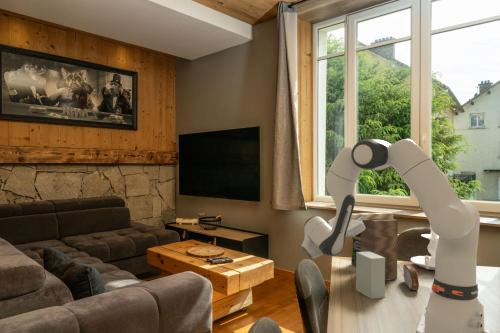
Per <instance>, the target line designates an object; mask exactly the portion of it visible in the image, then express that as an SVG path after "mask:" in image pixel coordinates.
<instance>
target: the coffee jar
mask: <svg viewBox="0 0 500 333" xmlns="http://www.w3.org/2000/svg"><path fill="white" fill-rule="evenodd" d="M351 239H352V251H351V265H352V266H354V267H356V252H360V246H361V233H359V234H357V235H356V236H353V237H351Z"/></svg>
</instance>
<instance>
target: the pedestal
mask: <svg viewBox="0 0 500 333" xmlns="http://www.w3.org/2000/svg"><path fill="white" fill-rule="evenodd" d="M355 268H356V269H355V275H356V276H355V278H356V279H355V290H356V291H357V292H359V293H361V294H363V295H364V296H366V297H367V298H368V299H370V300H372V299H381V298H385V297H386V296H385V294H386V284H385V283H386V280H385V258H384V257H382V256H379V255H377V254H375V253H372V252H370V251H368V252H356V266H355Z"/></svg>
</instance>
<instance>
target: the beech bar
mask: <svg viewBox="0 0 500 333" xmlns="http://www.w3.org/2000/svg"><path fill="white" fill-rule="evenodd" d="M361 215H363V216H364V217H365V219H364V220H382V219H394V213H392V212H387V211H385V212H384V211H383V212H382V211H381V212H359V213H357V212H356V213H355V212H354V213H353V212H352V216H351V219H354V220H356V219H358V218H359V216H361Z"/></svg>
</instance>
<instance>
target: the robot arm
mask: <svg viewBox="0 0 500 333" xmlns="http://www.w3.org/2000/svg"><path fill="white" fill-rule="evenodd" d="M434 161H435V160H433V159H432V157H431V156H429V155H428V154H427V152H426V151H425V150H424V149H423V148H422V147H421V146H419V145H418V143H416V142H415V141H414V140H412V139H410V138H404V139H403V138H402V139H400V140H398V141H395V142H394V143H392V142H390V141H387V140H382V139H377V138H376V139H375V138H372V139H371V138H367V139H362V140H360V141H358V142H357V143H355V144H354V146H345V147H343V148H342V149H340V151H339V152H338V153H337V155H336V157H335V158H334V160H333V162H332V163H331V166H330V167H329V170H328V172H327V174H326V178H325V187H326V190H327V192H328V194H329V195H330V197H331V199H332V200H333V202H334V204H335V207H336V208H335V209H336V213H335V214H336V215H335V216H334V217H332V218H331V219H329V220H328V221H326V220H325V219H324V218H323V217H321V216H319V215H315V216H311V217H310V218H308V219H307V220H306V221H305V222H304V225H303V232H304V238H303V242H302V243H301V248H302V250H303V251H304V252H305V254H306V255H307V256H308V257H309V258H311V259H316V258H319V257H321V256H322V255H324V256H326V257H327V256H329V257H332V256H333V257H334V256H337V255H339V254H340V253H341V252H342V251H343V249H344V247H345V242H346V238H348V237H350V238H352V237H353V236H356V235H357V234H359V233H361V232H362V231H364V230H365V225H364V224H363V222H362V221H363V220H364V219H365V217H364V216H363V215H361V216H359V218H358V219H356V220H354V219H351V216H352V213H353V212H354V208H355V204H356V199H355V186H356V183H357V181H358V178H359V176H360V175H361V172H362V171H363V170H366V171H370V170H371V171H372V170H373V171H380V170H387V169H390V168H393V169H394V170H395V171H396V173H397V174H398V176H399V177H400V178H401V179H402V181H403V182H404V184H406V186H407V187H408V188H409V190H410V191H411V192H412V194H413V195H414V196H415V199H417V201H418V204H419V205H420V207H421V209H422V211H423V213H424V215H425V216H426V218H427V220H428V222H429V227H430V226H431V228H432V230H433V231H434V232H435V233H436V234H437V235H438V236H439V238H438V244H437V249H436V253H435V270H434V277H433V281H432V284H431V291H430V292H429V298H428V301H427V306H425V312H423V313H422V314H421V316H420V319H419V322H418V325H417V327H416V330H415V332H416V333H491V331H490V330H488V329H486V328H485V312H484V305H483V304H482V303H481V302H480V301H479V299H478V296H479V288H478V285H479V284H478V283H477V259H478V258H477V254H478V250H479V249H478V247H479V238H480V224H481V217H480V216H481V215H480V211H479V210H478V208H477V207H476V206H475V205H474V204H473V203H471V202H470V201H467V200H463V199H460V198H459V196H458V195H457V193H456V191H455V190H454V187H452V185H451V183H450V181H449V179H448V177H447V176H446V175H445V174H444V172H443V171H442V170H441V169H440V167H438V165H437V164H436V162H434ZM431 228H430V229H431Z"/></svg>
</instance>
